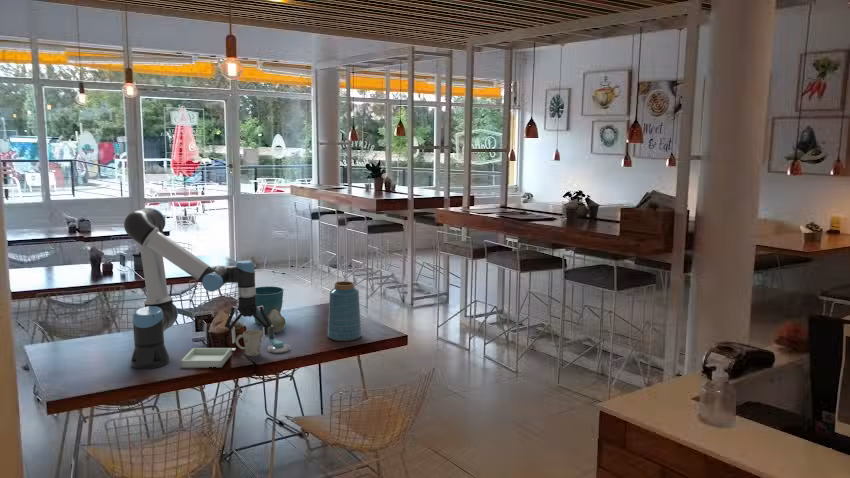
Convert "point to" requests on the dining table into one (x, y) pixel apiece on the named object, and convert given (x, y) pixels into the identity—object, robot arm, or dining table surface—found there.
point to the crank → (271, 338)
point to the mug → (251, 342)
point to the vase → (344, 312)
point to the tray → (206, 357)
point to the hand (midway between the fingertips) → (249, 342)
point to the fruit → (276, 320)
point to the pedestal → (278, 349)
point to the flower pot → (268, 299)
